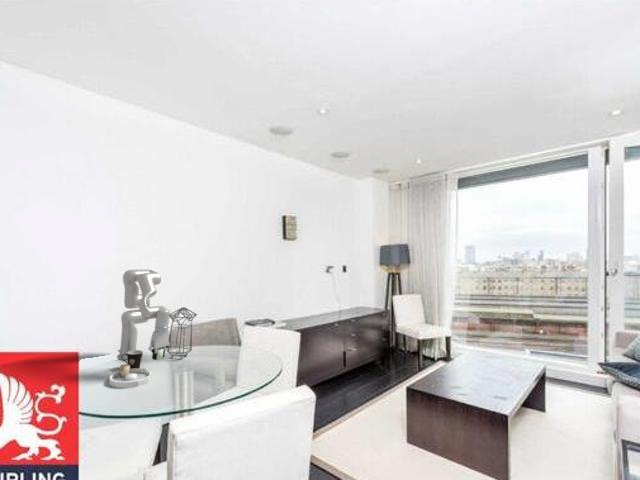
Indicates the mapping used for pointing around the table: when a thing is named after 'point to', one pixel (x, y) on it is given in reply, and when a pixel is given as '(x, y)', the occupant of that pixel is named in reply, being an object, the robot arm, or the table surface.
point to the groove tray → (131, 378)
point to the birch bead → (124, 370)
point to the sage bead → (160, 353)
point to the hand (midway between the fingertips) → (158, 357)
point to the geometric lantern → (181, 330)
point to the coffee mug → (134, 358)
